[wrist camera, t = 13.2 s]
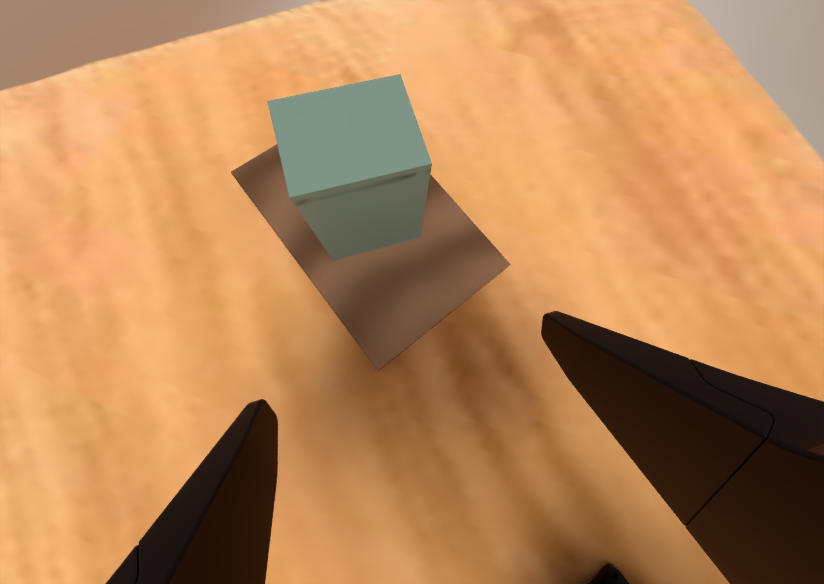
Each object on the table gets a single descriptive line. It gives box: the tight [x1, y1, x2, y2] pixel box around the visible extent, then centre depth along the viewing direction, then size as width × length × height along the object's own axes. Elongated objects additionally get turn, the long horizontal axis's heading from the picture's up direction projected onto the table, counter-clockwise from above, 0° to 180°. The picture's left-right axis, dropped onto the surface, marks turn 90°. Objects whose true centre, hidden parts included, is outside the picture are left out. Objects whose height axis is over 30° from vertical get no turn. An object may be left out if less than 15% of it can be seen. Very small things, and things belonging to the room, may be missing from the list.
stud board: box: [231, 145, 510, 370], centre depth 22 cm, size 20×13×5 cm, turn 38°
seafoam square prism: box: [268, 74, 432, 260], centre depth 19 cm, size 6×7×9 cm
